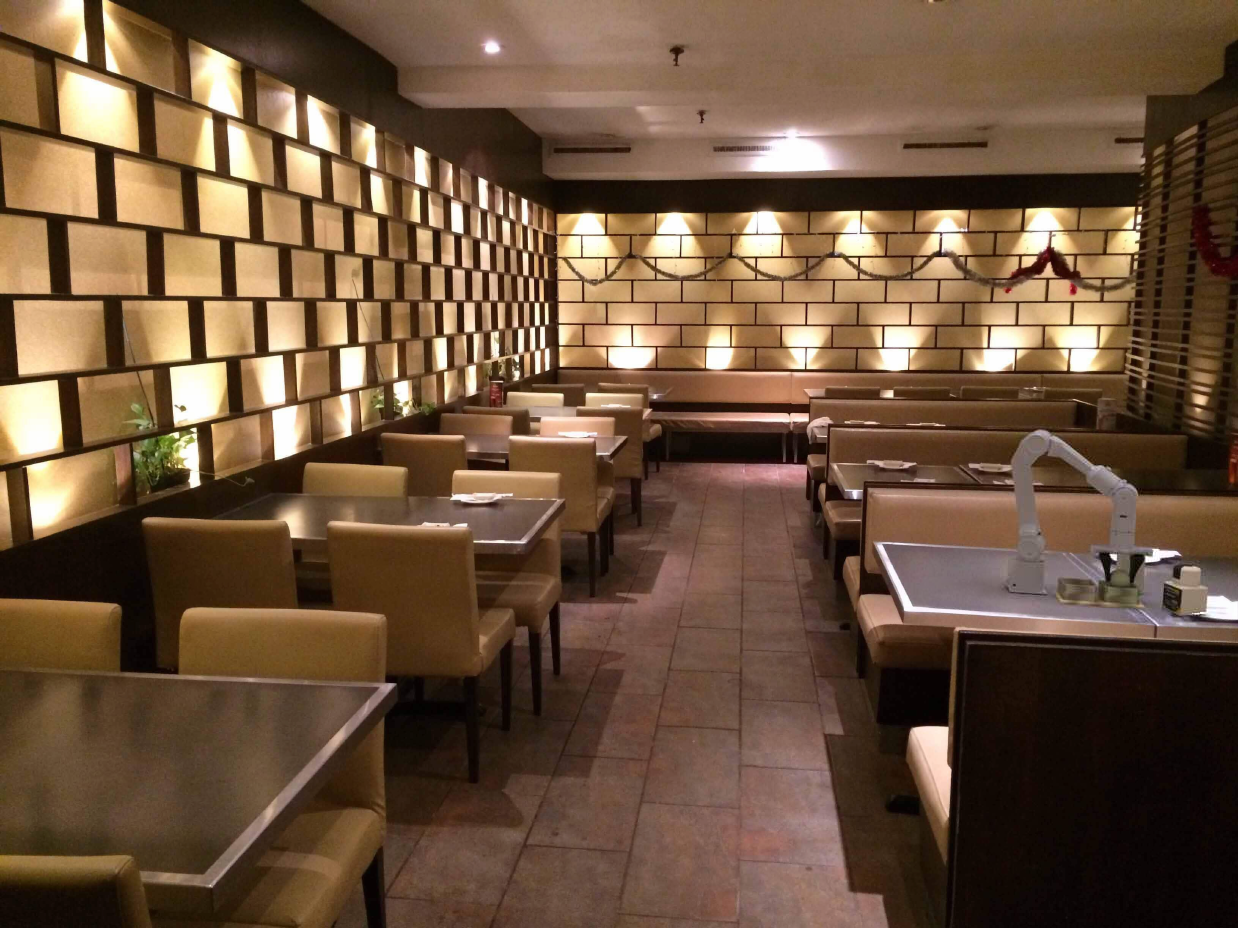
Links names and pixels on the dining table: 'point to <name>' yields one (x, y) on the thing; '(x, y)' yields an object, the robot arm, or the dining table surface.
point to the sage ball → (1119, 578)
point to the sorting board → (1107, 596)
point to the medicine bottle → (1185, 591)
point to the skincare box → (1124, 564)
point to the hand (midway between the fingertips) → (1119, 581)
